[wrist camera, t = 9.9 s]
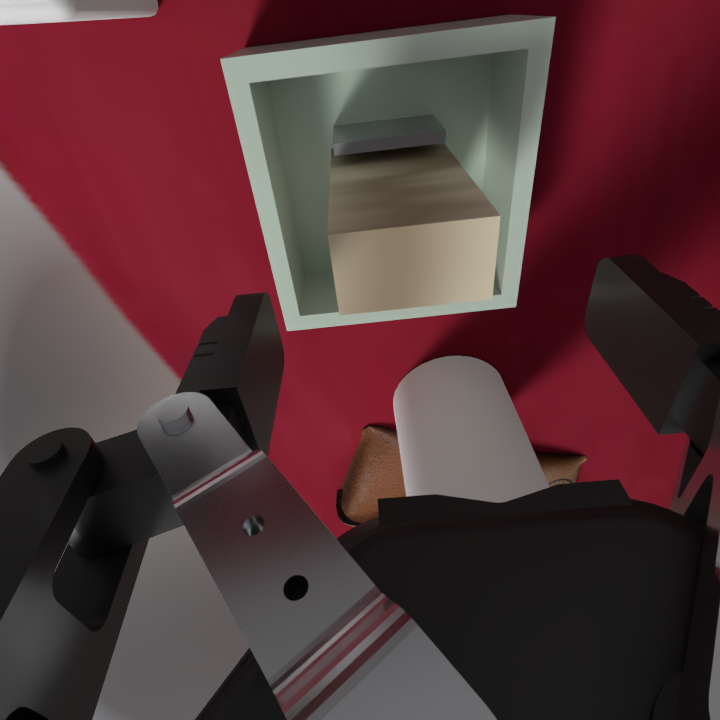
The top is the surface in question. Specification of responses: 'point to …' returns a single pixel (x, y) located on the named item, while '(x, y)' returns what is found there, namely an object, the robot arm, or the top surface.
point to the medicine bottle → (72, 10)
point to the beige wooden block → (408, 231)
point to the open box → (388, 137)
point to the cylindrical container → (463, 433)
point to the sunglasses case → (385, 477)
